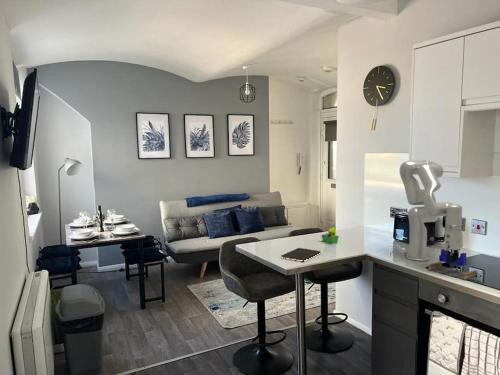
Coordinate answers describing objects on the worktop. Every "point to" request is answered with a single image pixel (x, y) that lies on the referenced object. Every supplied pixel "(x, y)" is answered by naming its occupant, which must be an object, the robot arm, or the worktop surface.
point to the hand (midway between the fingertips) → (452, 261)
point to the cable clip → (459, 261)
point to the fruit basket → (330, 236)
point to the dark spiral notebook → (300, 254)
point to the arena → (451, 271)
